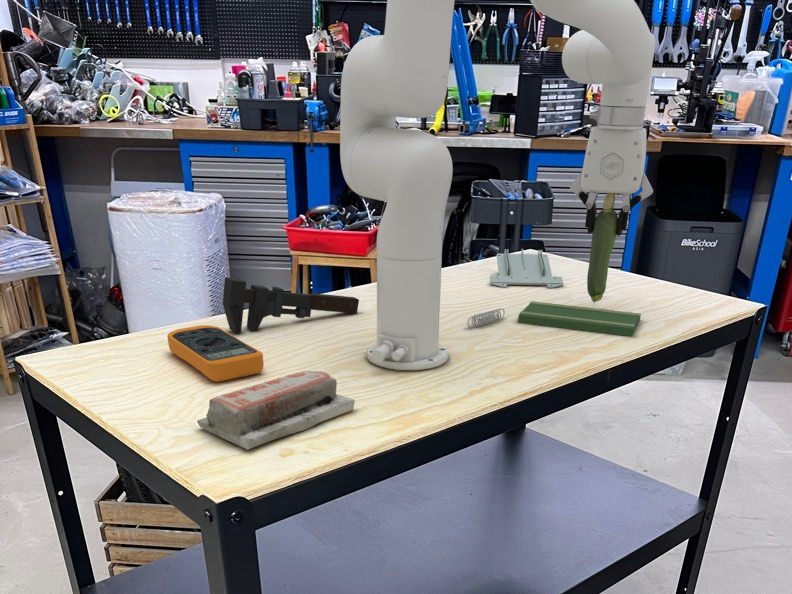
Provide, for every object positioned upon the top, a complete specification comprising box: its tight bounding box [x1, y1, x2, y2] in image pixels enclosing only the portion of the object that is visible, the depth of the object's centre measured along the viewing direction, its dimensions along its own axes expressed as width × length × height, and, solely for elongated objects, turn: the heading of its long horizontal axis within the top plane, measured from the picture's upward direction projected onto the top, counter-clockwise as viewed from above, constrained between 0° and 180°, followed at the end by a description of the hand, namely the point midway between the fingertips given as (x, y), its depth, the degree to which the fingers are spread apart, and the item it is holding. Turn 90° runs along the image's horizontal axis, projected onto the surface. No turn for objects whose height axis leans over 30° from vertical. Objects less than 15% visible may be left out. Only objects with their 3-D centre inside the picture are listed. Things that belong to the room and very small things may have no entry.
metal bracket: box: [489, 248, 564, 289], centre depth 168 cm, size 14×6×15 cm
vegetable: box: [586, 193, 620, 304], centre depth 144 cm, size 4×4×20 cm
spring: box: [467, 307, 506, 329], centre depth 140 cm, size 10×2×2 cm, turn 134°
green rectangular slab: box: [517, 300, 642, 337], centre depth 142 cm, size 10×20×2 cm, turn 69°
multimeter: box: [167, 324, 264, 383], centre depth 119 cm, size 9×18×3 cm, turn 36°
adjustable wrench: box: [222, 276, 360, 334], centre depth 138 cm, size 8×3×25 cm
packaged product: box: [197, 370, 356, 451], centre depth 101 cm, size 18×5×10 cm
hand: (605, 232), depth 142 cm, fingers closed on vegetable, 4 cm apart
